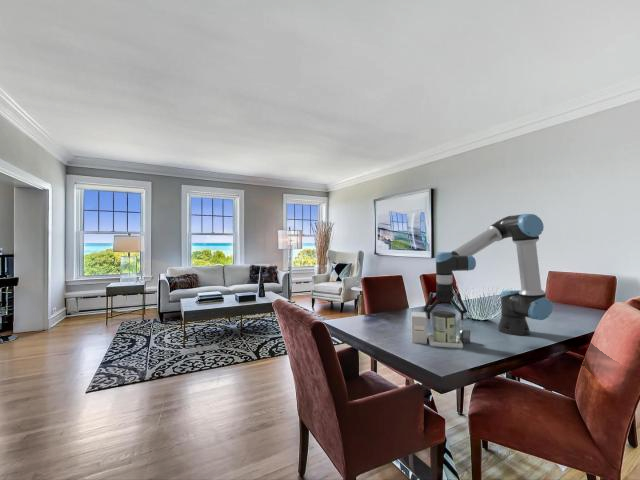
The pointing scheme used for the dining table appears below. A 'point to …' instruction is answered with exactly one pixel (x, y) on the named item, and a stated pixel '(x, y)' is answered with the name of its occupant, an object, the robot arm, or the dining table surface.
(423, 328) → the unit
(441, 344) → the tray
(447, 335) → the coffee can
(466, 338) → the cartridge
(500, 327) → the robot arm
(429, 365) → the dining table surface
